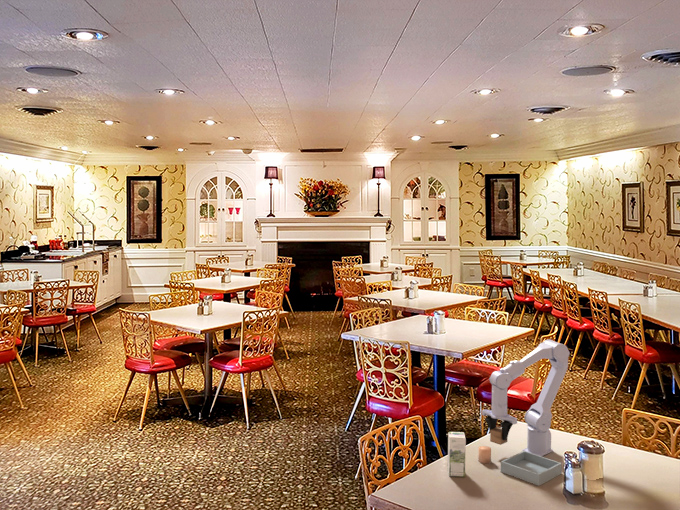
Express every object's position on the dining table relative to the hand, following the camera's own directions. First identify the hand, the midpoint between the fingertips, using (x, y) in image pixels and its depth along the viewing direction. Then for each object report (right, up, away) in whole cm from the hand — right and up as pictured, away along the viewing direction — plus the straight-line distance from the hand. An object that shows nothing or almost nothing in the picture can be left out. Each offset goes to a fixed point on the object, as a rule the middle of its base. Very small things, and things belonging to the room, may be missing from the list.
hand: (498, 437), depth 232 cm
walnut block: (0, -2, 0) cm, 2 cm away
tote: (+7, -8, -16) cm, 19 cm away
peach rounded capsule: (-7, -7, -5) cm, 11 cm away
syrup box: (-20, -8, -17) cm, 27 cm away
